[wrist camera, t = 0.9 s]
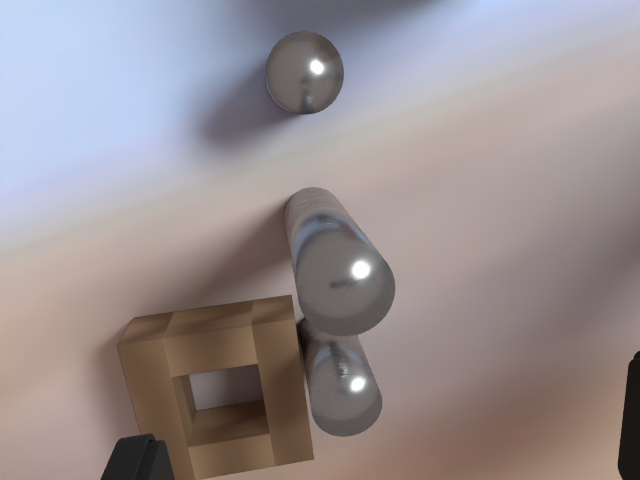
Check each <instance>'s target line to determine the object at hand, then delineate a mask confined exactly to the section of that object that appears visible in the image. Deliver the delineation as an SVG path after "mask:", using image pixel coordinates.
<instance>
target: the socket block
mask: <svg viewBox="0 0 640 480" xmlns="http://www.w3.org/2000/svg"><path fill="white" fill-rule="evenodd" d="M117 349H118V353H119V356H120V360H121V364H122V368H123V371H124V375H125V379H126V382H127V386H128V390H129V393H130V397H131V401H132V404H133V408H134V412H135V415H136V419H137V423H138V426H139V430H140V434H141V435H144V434H150V433H151V434H153V435H154V437H155V439H156V441H158V440H164V441H165V443H166V446H167V450H168V454H169V458H170V462H171V466H172V470H173V474H174V478H175V480H200V479H206V478H211V477H217V476H222V475H228V474H234V473H239V472H245V471H251V470H256V469H262V468H268V467H273V466H279V465H285V464H290V463H296V462H301V461H307V460H313V459H314V455H313V448H312V441H311V433H310V426H309V419H308V412H307V404H306V397H305V390H304V382H303V375H302V368H301V360H300V353H299V346H298V338H297V331H296V324H295V317H294V310H293V303H292V295H286V296H279V297H272V298H266V299H259V300H252V301H245V302H238V303H231V304H225V305H218V306H211V307H204V308H197V309H191V310H184V311H177V312H170V313H163V314H156V315H150V316H143V317H136V318H134V319H133V320H132V322H131V323H130V325H129V327H128V328H127V330H126V332H125V333H124V335H123V336H122V338H121V340H120V341H119V343H118V344H117ZM252 364H258V368H259V374H260V380H261V386H262V392H263V397H264V400H259V401H253V402H247V403H241V404H235V405H229V406H223V407H217V408H211V409H205V410H198V411H196V407H195V403H194V398H193V394H192V389H191V385H190V380H189V376H188V375H189V374H195V373H202V372H208V371H214V370H221V369H227V368H233V367H240V366H246V365H252Z"/></svg>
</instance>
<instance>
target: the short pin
mask: <svg viewBox="0 0 640 480" xmlns="http://www.w3.org/2000/svg"><path fill="white" fill-rule="evenodd" d="M343 76H344V71H343V64H342V60H341V58H340V55H339V53H338V51H337V50H336V48H335V47H334V46H333V45H332V44H331V42H330V41H328V40H327V39H326V38H324V37H322V36H321V35H318V34H316V33H312V32H296V33H293V34H290V35H288V36H286V37H284V38H283V39H281V40H280V41H279V42H278V43H277V44H276V45H275V47H274V48H273V50H272V51H271V53H270V55H269V58H268V61H267V66H266V86H267V90H268V92H269V95H270V97H271V98H272V100H273V101H274V102H275V103H276V104H277V105H278V106H279V107H281V108H282V109H284V110H286V111H289V112H292V113H297V114H313V113H317V112H320V111H322V110H324V109H325V108H327V107H328V106H329V105H330V104H332V102H333V101H334V100H335V99H336V97H337V96H338V94H339V92H340V90H341V87H342V83H343Z"/></svg>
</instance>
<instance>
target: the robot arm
mask: <svg viewBox="0 0 640 480" xmlns="http://www.w3.org/2000/svg"><path fill="white" fill-rule="evenodd" d="M618 470H619V473H620V475H621V477H622V479H623V480H640V351H638V352H637V353H636V354H635V355H634V359H633V360H631V362H630V363H629V366H628V375H627V384H626V393H625V402H624V411H623V420H622V429H621V439H620V448H619V457H618ZM101 480H175V478H174V474H173V470H172V466H171V462H170V458H169V454H168V450H167V446H166V443H165V441H164V440H158V441H156V439H155V437H154V435H153V434H151V433H150V434H144V435H138V436H132V437H126V438H121V439H119V440H118V442H117V443H116V445H115V448H114V450H113V452H112V454H111V457H110V459H109V461H108V464H107V466H106V468H105V470H104V473H103V475H102V477H101Z"/></svg>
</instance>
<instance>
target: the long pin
mask: <svg viewBox="0 0 640 480" xmlns="http://www.w3.org/2000/svg"><path fill="white" fill-rule="evenodd" d="M284 220H285V226H286V232H287V237H288V243H289V249H290V255H291V260H292V266H293V272H294V277H295V283H296V289H297V294H298V300H299V305H300V308H301V311H302V312H303V314H304V316H305V318H306V319H307V320H308V321H309V322H310V323H311V324H312V325H313V326H314V327H315V328H317V329H318V330H320V331H322V332H324V333H327V334H330V335H334V336H353V335H357V334H360V333H363V332H365V331H367V330H369V329H371V328H373V327H374V326H375V325H377V324H378V323H379V322H380V321H381V320H382V319H383V318H384V317H385V315H386V314H387V313H388V311H389V309H390V307H391V305H392V303H393V299H394V294H395V281H394V277H393V273H392V271H391V269H390V267H389V265H388V264H387V262H386V261H385V260H384V259H383V257H382V256H381V255H380V254H379V252H378V251H377V250H376V248H375V247H374V246H373V245H372V243H371V242H370V241H369V239H368V238H367V237H366V236H365V234H364V233H363V232H362V231H361V229H360V228H359V227H358V225H357V224H356V223H355V222H354V220H353V219H352V218H351V216H350V215H349V214H348V213H347V211H346V210H345V209H344V207H343V206H342V205H341V204H340V202H339V201H338V200H337V199H336V197H335V196H334V195H333V194H332V193H330V192H329V191H327V190H325V189H322V188H316V187H312V188H306V189H303V190H301V191H299V192H297V193H296V194H295V195H293V196H292V197H291V199H290V200H289V201H288V203H287V205H286V208H285V212H284Z"/></svg>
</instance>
